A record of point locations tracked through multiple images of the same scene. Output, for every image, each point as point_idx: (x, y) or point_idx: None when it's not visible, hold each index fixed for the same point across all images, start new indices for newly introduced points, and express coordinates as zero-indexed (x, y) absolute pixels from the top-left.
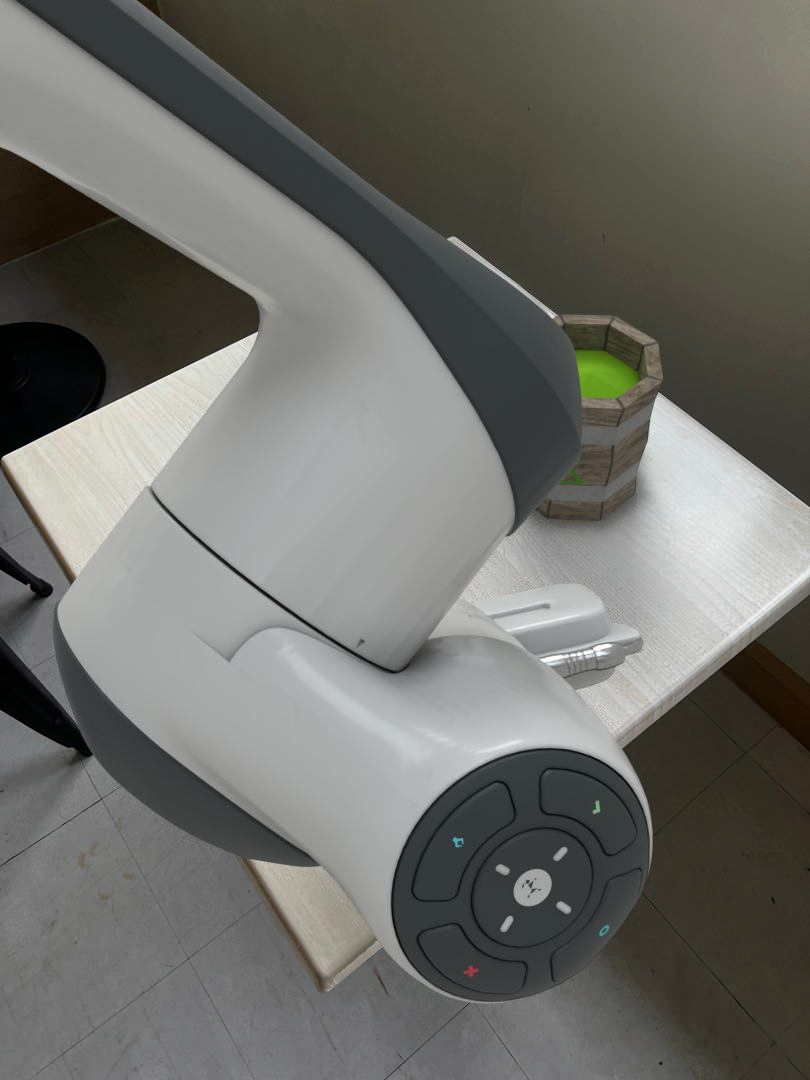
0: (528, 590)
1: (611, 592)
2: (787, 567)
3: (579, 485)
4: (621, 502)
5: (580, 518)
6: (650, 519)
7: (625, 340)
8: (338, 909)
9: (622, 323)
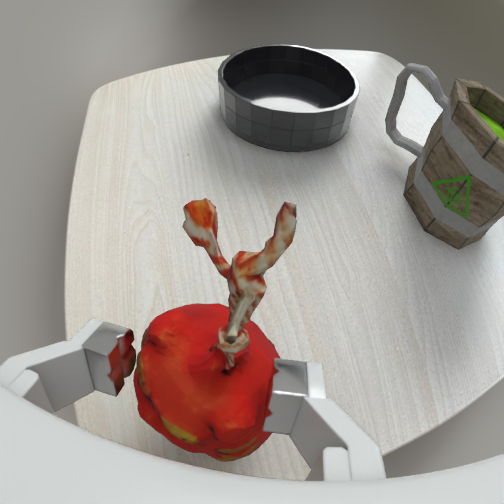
0: (499, 473)
1: (451, 316)
2: None
3: (463, 217)
4: (473, 241)
5: (446, 241)
6: (486, 263)
7: None
8: None
9: None
